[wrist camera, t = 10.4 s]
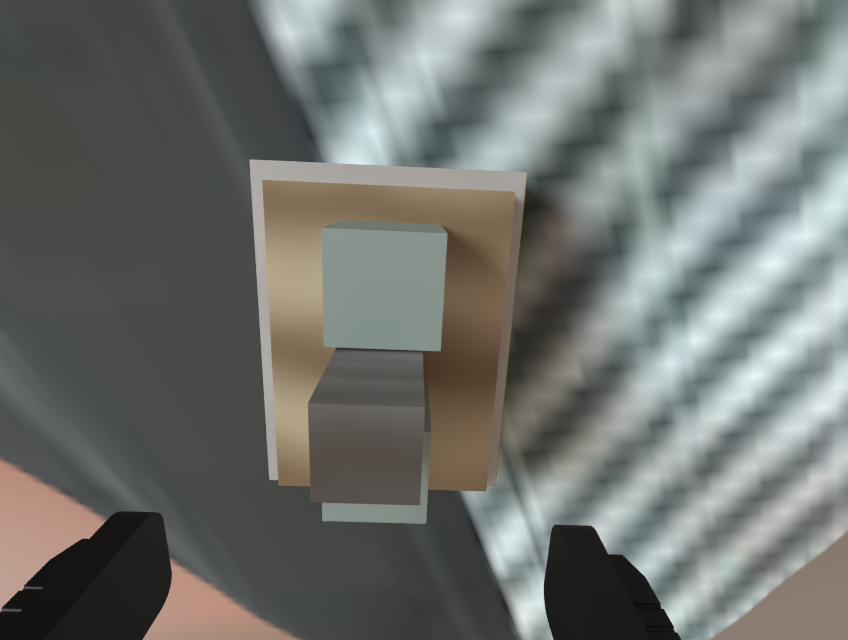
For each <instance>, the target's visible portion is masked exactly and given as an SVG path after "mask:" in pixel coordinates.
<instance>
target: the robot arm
mask: <svg viewBox="0 0 848 640" xmlns="http://www.w3.org/2000/svg"><path fill="white" fill-rule="evenodd" d="M171 578H172V572H171V564H170V558H169V551H168V545H167V539H166V532H165V526H164V520H163V517H162V515H161V514H160V513H157V512H125V511H121V512H117V513H115V514H113V515H112V516H111V517H110V518H109V519H108V520H107V521H106V522H105V523H104V524H103V525H102V526H101V527H100V528H99V529H98V530H97V531H96V532H95V533H94V535H93V536H92V537H91V538H90V539H81V540H80V541H78V542H77V543H75V544H74V545H72V546H71V547H69V548H67V549H66V550H64V551H63V552H61V553H60V554H58V555H57V556H55V557H54V558H52V559H51V560H49V561H48V562H47V563H46V565H44V566H43V567H42V568H41V569H40V570H39V571H38V572H37V573H36V574H35V575H34V576H33V577H32V578H31V579H30V580H29V581H28V582H27V583H26V584H25V585H24V589H23V590H22V591H18V592H17V593H16V594H15V595H14V596H13V597H12V598H11V599H10V600H9V601H8V602H7V603H6V604H5V605H4V606H3V607H2V611H1V612H0V640H142V639H143V638H144V636H145V635H146V633H147V631H148V630H149V628H150V626H151V625H152V623H153V622H154V620H155V618H156V617H157V615H158V614H159V612H160V610H161V609H162V607H163V605H164V603H165V601H166V598H167V596H168V593H169V589H170V585H171ZM544 601H545V609H546V614H547V618H548V622H549V626H550V629H551V632H552V636H553V639H554V640H681V638H680V637H679V635H678V633H675V631H674V626H673V625H672V623H671V621H670V619H669V618H668V616H667V614H666V612H665V611H664V609H661V606H660V602H659V600H658V598H657V597H656V595H655V593H654V591H653V590H652V588H651V586H650V585H649V583H648V581H647V579H646V578H645V576H644V575H643V574H641V573H640V572H639V571H638V570H637V569H636V568H635V567H634V566H633V565H632V564H631V563H630V562H629V561H628V560H627V559H626V558H625V557H624V556H623V555H609V554H608V553H607V551H606V549H605V547H604V545H603V543H602V541H601V540H600V538H599V536H598V534H597V532H596V530H595V529H594V528H593V527H592V526H582V525H554V526H553V528H552V532H551V538H550V545H549V552H548V559H547V566H546V573H545V581H544Z"/></svg>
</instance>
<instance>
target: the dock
mask: <svg viewBox="0 0 848 640" xmlns="http://www.w3.org/2000/svg"><path fill="white" fill-rule="evenodd" d="M250 174H251V190H252V206H253V223H254V239H255V255H256V271H257V287H258V303H259V319H260V335H261V351H262V368H263V384H264V400H265V416H266V432H267V448H268V464H269V480H278V467H277V448H276V429H275V410H274V392H273V373H272V354H271V336H270V317H269V298H268V280H267V261H266V242H265V223H264V205H263V186H262V180H279V181H301V182H322V183H343V184H364V185H385V186H407V187H428V188H449V189H470V190H491V191H513V192H515V199H514V209H513V220H512V230H511V240H510V250H509V260H508V271H507V281H506V291H505V301H504V311H503V322H502V332H501V342H500V352H499V362H498V373H497V383H496V393H495V403H494V413H493V424H492V434H491V444H490V454H489V464H488V475H487V485H486V486H495V479H496V475H497V465H498V456H499V446H500V436H501V426H502V417H503V407H504V397H505V387H506V377H507V368H508V358H509V348H510V338H511V329H512V319H513V309H514V299H515V290H516V280H517V270H518V260H519V250H520V241H521V231H522V221H523V211H524V202H525V192H526V182H527V172H507V171H486V170H464V169H442V168H421V167H399V166H378V165H356V164H335V163H313V162H291V161H270V160H250Z"/></svg>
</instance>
